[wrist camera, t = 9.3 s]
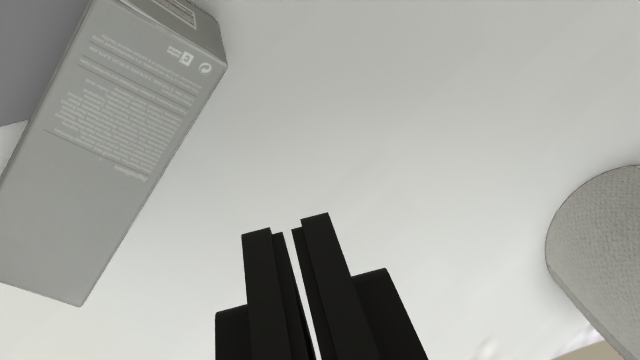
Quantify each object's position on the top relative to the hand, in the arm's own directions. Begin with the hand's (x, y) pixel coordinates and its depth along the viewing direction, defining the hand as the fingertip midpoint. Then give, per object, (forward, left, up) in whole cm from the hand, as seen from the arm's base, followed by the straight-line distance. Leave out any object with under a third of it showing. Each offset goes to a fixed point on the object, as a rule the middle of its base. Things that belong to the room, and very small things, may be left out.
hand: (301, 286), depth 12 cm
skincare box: (+2, -2, -22) cm, 22 cm away
